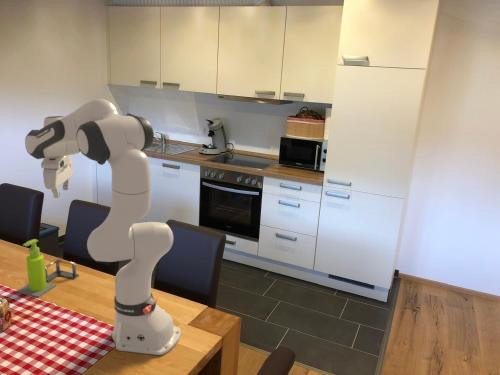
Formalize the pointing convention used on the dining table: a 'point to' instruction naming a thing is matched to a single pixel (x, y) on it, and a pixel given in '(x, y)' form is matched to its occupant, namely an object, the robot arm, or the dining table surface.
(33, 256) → the soap dispenser
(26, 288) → the mat
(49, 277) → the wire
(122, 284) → the robot arm
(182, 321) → the dining table surface
